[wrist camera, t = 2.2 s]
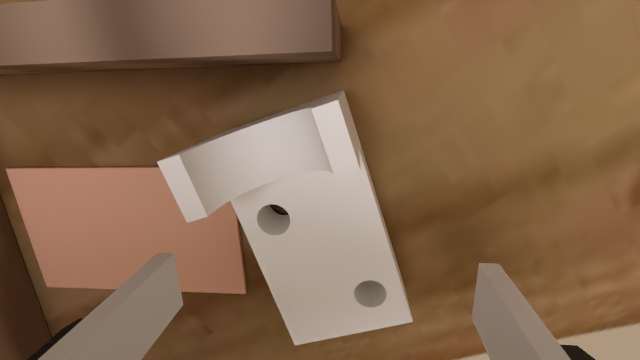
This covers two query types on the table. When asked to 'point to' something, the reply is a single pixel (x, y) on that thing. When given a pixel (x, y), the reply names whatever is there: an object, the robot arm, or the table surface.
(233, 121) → the table surface
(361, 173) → the bracket
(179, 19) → the corner walls
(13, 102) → the table surface
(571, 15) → the table surface
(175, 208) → the pad
